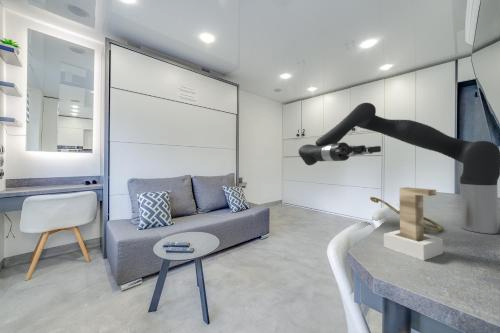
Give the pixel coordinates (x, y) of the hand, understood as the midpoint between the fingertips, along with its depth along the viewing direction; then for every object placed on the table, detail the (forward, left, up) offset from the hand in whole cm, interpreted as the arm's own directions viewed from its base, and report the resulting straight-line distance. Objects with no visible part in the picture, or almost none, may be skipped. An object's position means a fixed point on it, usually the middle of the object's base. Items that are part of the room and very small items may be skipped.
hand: (372, 148), depth 70 cm
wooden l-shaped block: (+2, +14, -31) cm, 34 cm away
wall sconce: (-26, +8, -30) cm, 40 cm away
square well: (+2, +13, -31) cm, 33 cm away
